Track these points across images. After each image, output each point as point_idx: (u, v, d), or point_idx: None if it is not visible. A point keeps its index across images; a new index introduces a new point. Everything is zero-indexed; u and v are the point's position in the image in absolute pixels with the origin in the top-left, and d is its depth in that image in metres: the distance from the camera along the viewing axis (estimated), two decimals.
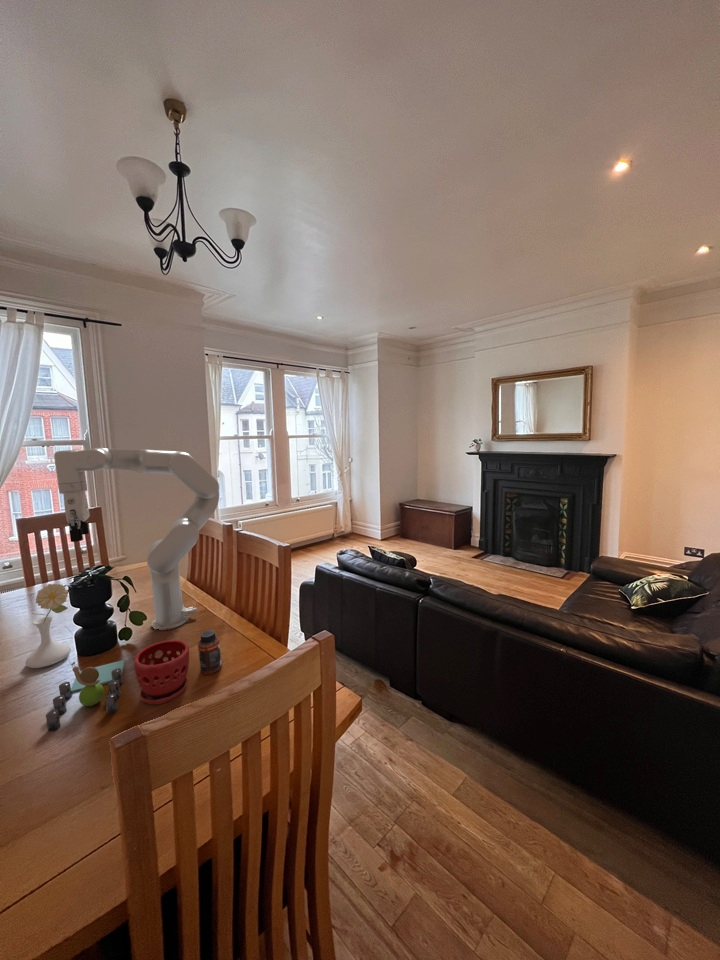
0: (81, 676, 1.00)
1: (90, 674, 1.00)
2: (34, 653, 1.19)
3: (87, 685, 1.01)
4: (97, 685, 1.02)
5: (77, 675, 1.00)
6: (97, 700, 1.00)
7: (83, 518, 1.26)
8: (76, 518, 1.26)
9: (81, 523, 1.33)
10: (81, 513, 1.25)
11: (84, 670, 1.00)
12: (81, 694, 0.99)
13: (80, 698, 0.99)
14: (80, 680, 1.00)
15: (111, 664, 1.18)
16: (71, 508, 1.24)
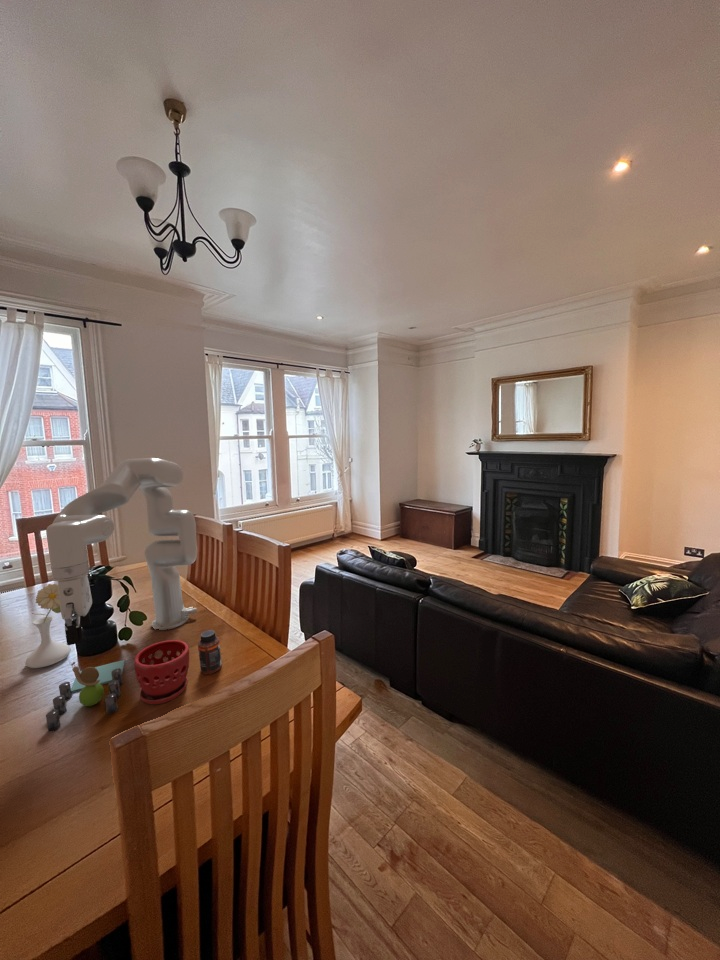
0: (81, 676, 1.00)
1: (90, 674, 1.00)
2: (34, 653, 1.19)
3: (87, 685, 1.01)
4: (97, 685, 1.02)
5: (77, 675, 1.00)
6: (97, 700, 1.00)
7: (84, 612, 0.95)
8: (74, 612, 0.95)
9: None
10: (81, 606, 0.94)
11: (84, 670, 1.00)
12: (81, 694, 0.99)
13: (80, 698, 0.99)
14: (80, 680, 1.00)
15: (111, 664, 1.18)
16: (68, 601, 0.93)
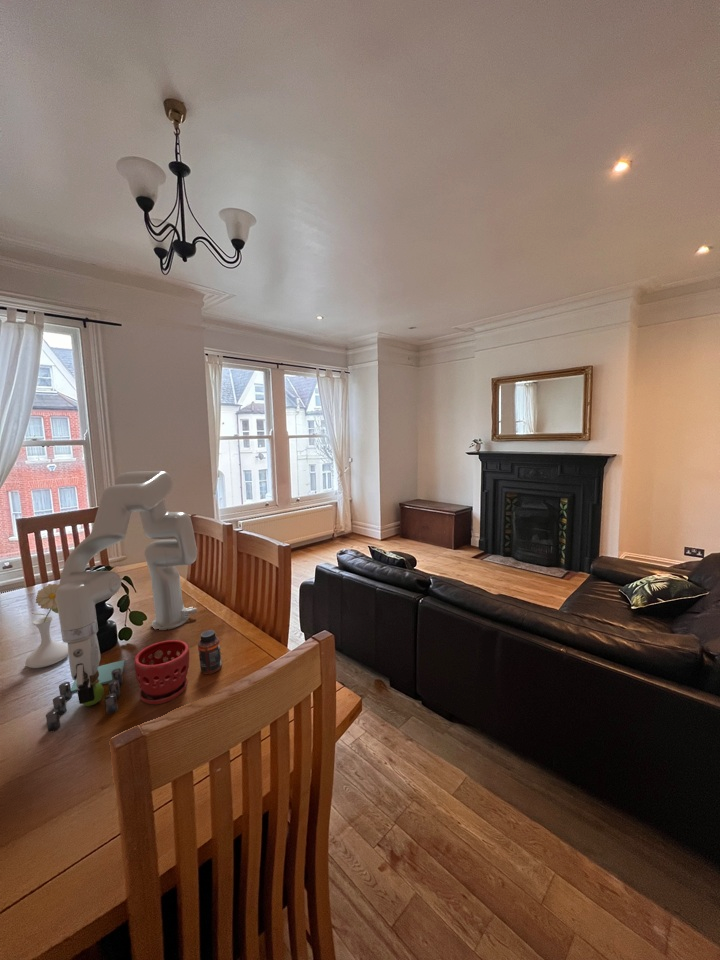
0: None
1: None
2: (34, 653, 1.19)
3: None
4: (97, 685, 1.02)
5: None
6: (97, 700, 1.01)
7: (93, 672, 0.97)
8: (85, 671, 0.98)
9: None
10: (90, 666, 0.97)
11: None
12: None
13: None
14: None
15: (111, 664, 1.18)
16: (78, 662, 0.95)
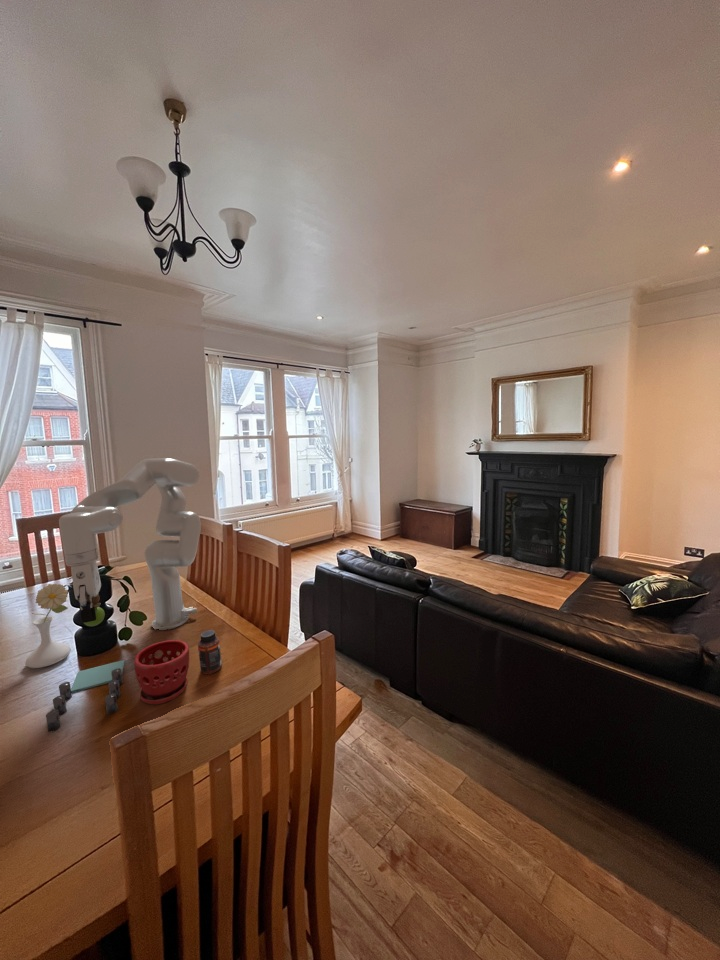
0: None
1: None
2: (34, 653, 1.19)
3: None
4: (98, 608, 1.11)
5: None
6: (98, 621, 1.10)
7: (94, 593, 1.07)
8: None
9: None
10: (92, 588, 1.06)
11: None
12: None
13: None
14: None
15: (111, 664, 1.18)
16: (80, 583, 1.05)
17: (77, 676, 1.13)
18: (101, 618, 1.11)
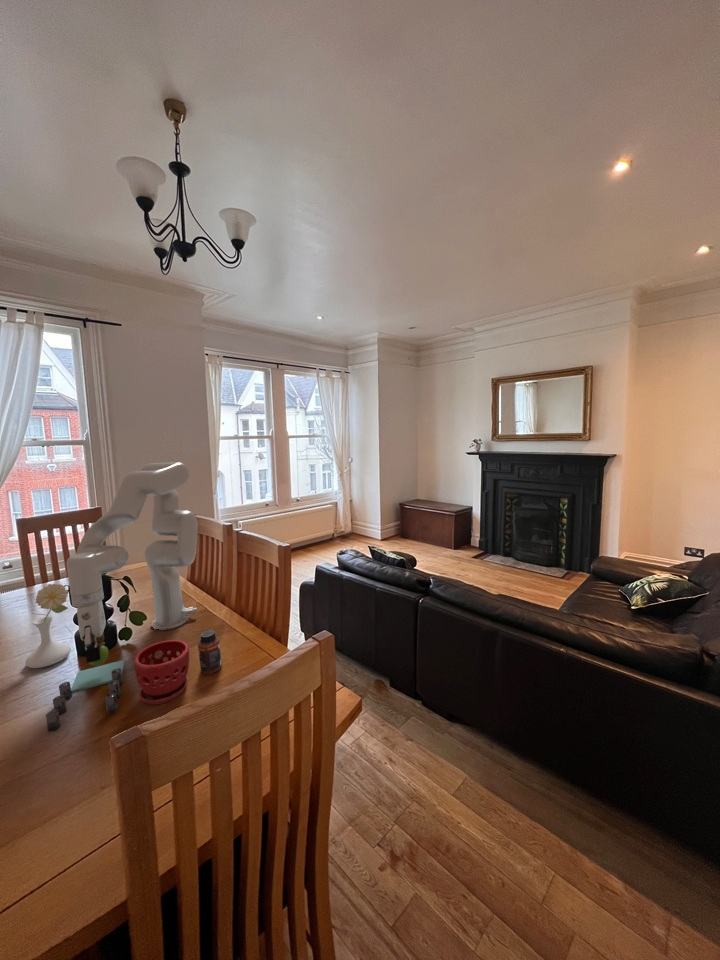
0: None
1: None
2: (34, 653, 1.19)
3: None
4: (102, 647, 1.13)
5: None
6: (102, 660, 1.12)
7: (99, 634, 1.08)
8: None
9: None
10: (97, 628, 1.08)
11: None
12: None
13: None
14: None
15: (111, 664, 1.18)
16: (86, 624, 1.06)
17: (77, 676, 1.13)
18: (105, 657, 1.12)
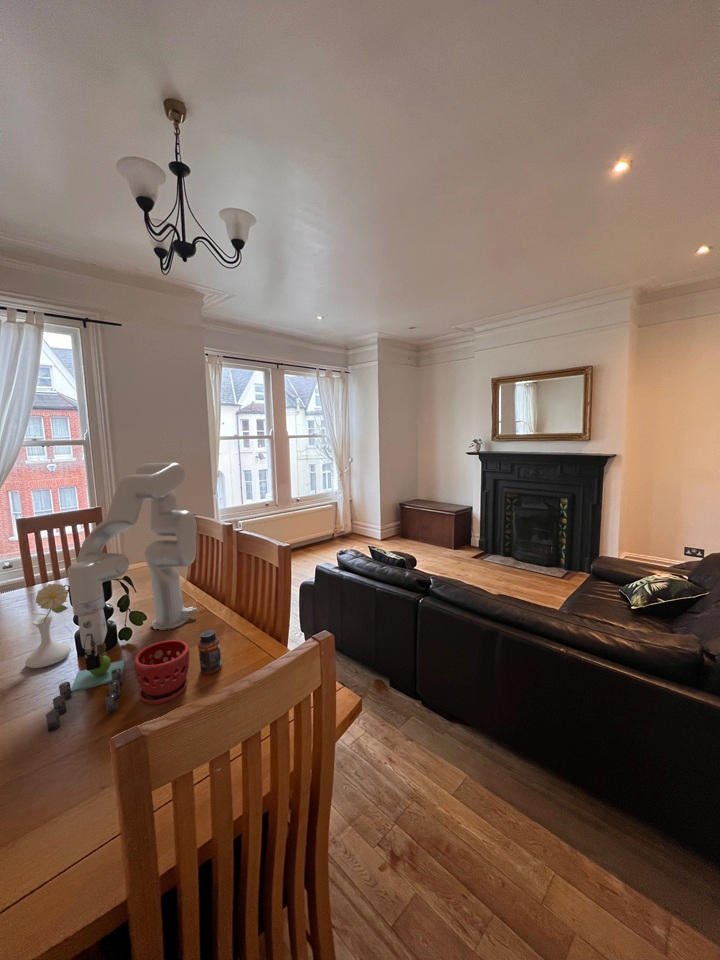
0: None
1: (98, 647, 1.12)
2: (34, 653, 1.19)
3: None
4: (104, 657, 1.13)
5: None
6: (105, 670, 1.12)
7: (101, 642, 1.09)
8: (93, 641, 1.09)
9: None
10: (98, 637, 1.08)
11: (92, 643, 1.12)
12: None
13: None
14: None
15: (111, 664, 1.18)
16: (87, 632, 1.07)
17: (77, 676, 1.13)
18: (107, 667, 1.13)
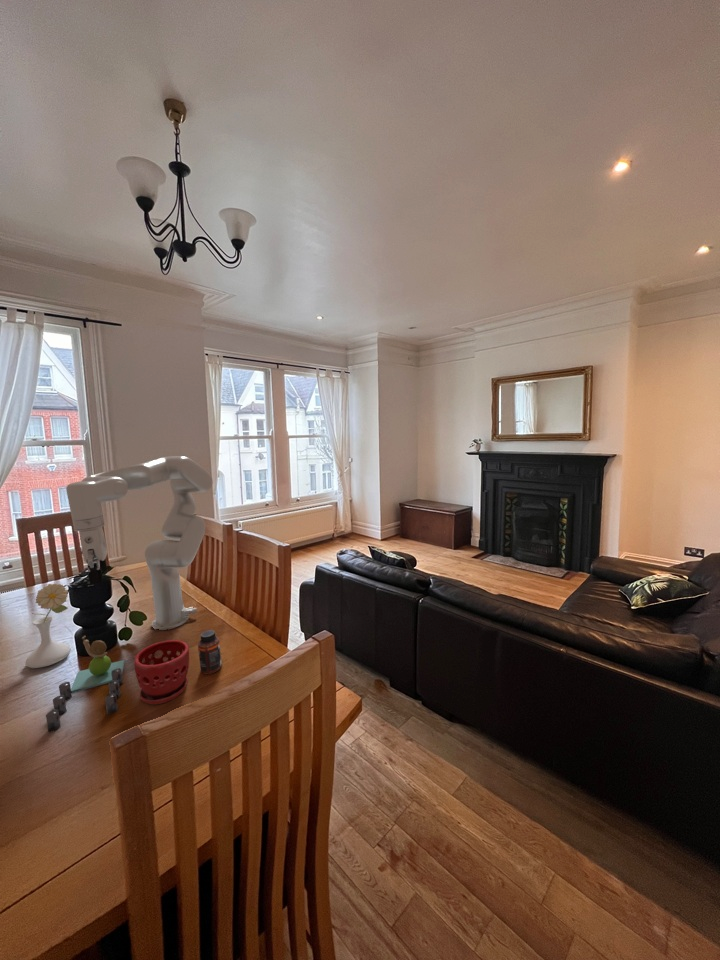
0: (91, 648, 1.12)
1: (99, 647, 1.12)
2: (34, 653, 1.19)
3: (96, 657, 1.12)
4: (105, 657, 1.13)
5: (87, 647, 1.12)
6: (105, 670, 1.12)
7: (102, 557, 1.13)
8: (94, 557, 1.13)
9: (98, 560, 1.20)
10: (100, 552, 1.12)
11: (93, 643, 1.12)
12: (91, 664, 1.11)
13: (90, 668, 1.11)
14: (90, 652, 1.12)
15: (111, 664, 1.18)
16: (89, 547, 1.10)
17: (77, 676, 1.13)
18: (107, 667, 1.13)
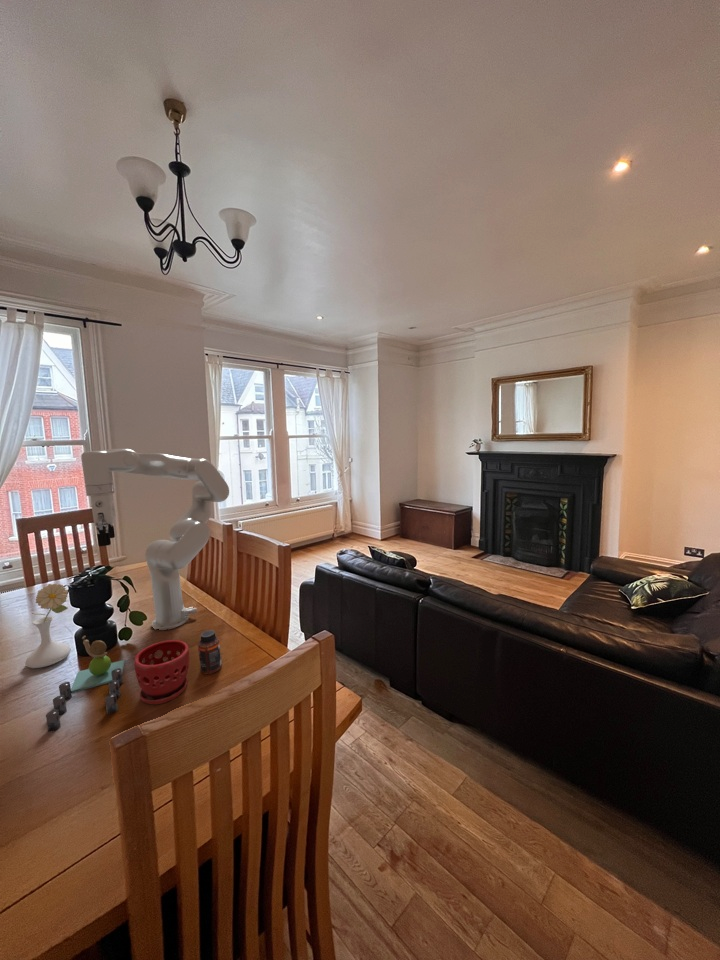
0: (91, 648, 1.12)
1: (99, 647, 1.12)
2: (34, 653, 1.19)
3: (96, 657, 1.12)
4: (105, 657, 1.13)
5: (87, 647, 1.12)
6: (105, 670, 1.12)
7: (111, 521, 1.21)
8: (104, 521, 1.21)
9: (107, 526, 1.28)
10: (109, 516, 1.20)
11: (93, 643, 1.12)
12: (91, 664, 1.11)
13: (90, 668, 1.11)
14: (90, 652, 1.12)
15: (111, 664, 1.18)
16: (99, 511, 1.19)
17: (77, 676, 1.13)
18: (107, 667, 1.13)
